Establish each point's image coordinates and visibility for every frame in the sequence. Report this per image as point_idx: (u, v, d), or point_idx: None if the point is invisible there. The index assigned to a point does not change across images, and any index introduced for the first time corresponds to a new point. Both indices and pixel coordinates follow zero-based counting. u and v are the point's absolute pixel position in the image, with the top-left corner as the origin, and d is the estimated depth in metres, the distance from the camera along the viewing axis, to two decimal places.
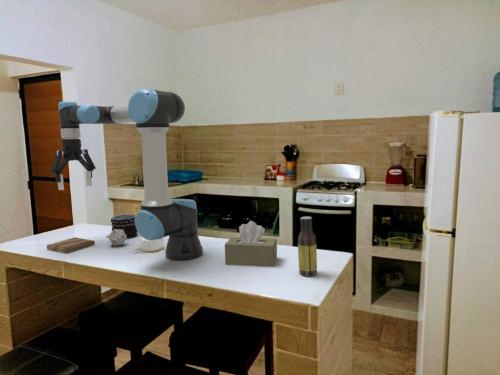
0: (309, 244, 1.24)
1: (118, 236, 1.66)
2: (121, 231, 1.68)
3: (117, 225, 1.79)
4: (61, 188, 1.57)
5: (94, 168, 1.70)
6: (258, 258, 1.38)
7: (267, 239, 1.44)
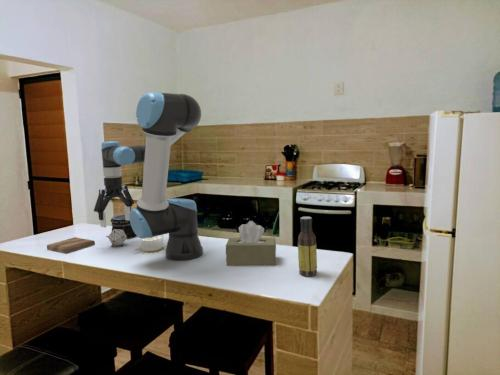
0: (308, 244, 1.24)
1: (118, 236, 1.66)
2: (121, 231, 1.68)
3: (117, 225, 1.79)
4: (103, 225, 1.61)
5: (133, 203, 1.74)
6: (260, 258, 1.38)
7: (266, 238, 1.45)
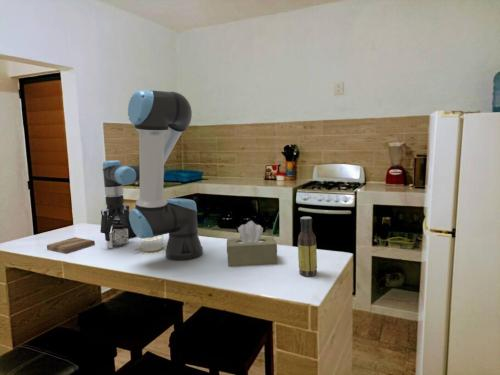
0: (308, 244, 1.24)
1: (118, 236, 1.66)
2: (121, 231, 1.68)
3: (117, 225, 1.79)
4: (110, 246, 1.64)
5: (131, 225, 1.73)
6: (262, 257, 1.39)
7: (265, 238, 1.46)
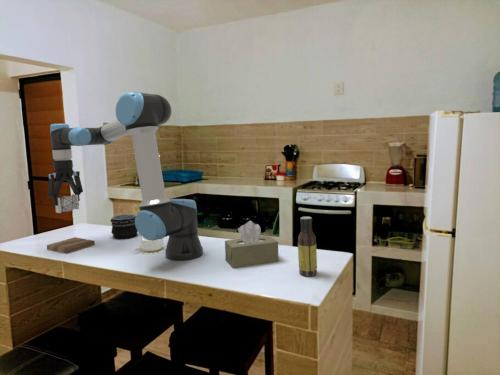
0: (308, 244, 1.24)
1: (68, 202, 1.63)
2: (70, 197, 1.65)
3: (117, 225, 1.79)
4: (58, 211, 1.62)
5: (81, 191, 1.71)
6: (265, 256, 1.40)
7: (262, 237, 1.47)
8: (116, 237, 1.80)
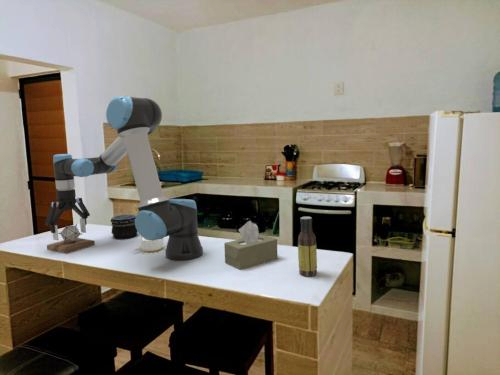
0: (309, 244, 1.24)
1: (71, 232, 1.65)
2: (74, 227, 1.67)
3: (117, 225, 1.79)
4: (56, 238, 1.61)
5: (88, 215, 1.74)
6: (266, 254, 1.42)
7: (258, 236, 1.49)
8: (116, 237, 1.80)
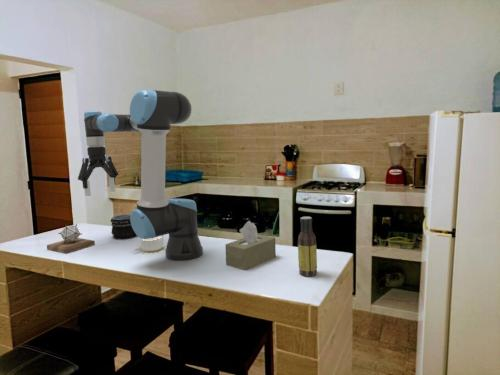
0: (309, 244, 1.24)
1: (71, 232, 1.65)
2: (74, 227, 1.67)
3: (117, 225, 1.79)
4: (88, 194, 1.63)
5: (117, 174, 1.76)
6: (267, 253, 1.43)
7: None
8: (116, 237, 1.80)
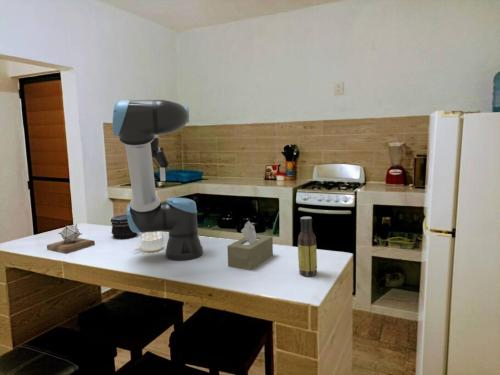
0: (309, 244, 1.24)
1: (71, 232, 1.65)
2: (74, 227, 1.67)
3: (117, 225, 1.79)
4: None
5: (167, 165, 1.84)
6: (266, 252, 1.44)
7: None
8: (116, 237, 1.80)
